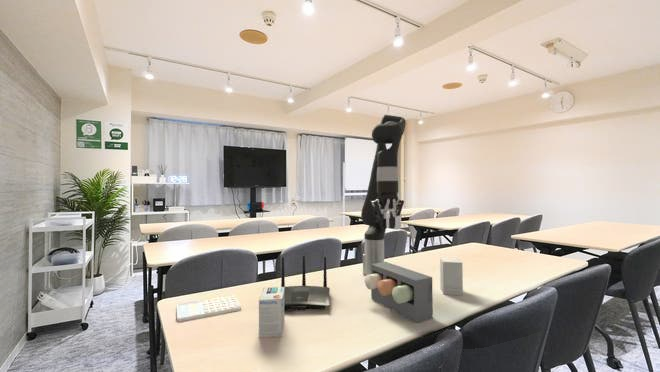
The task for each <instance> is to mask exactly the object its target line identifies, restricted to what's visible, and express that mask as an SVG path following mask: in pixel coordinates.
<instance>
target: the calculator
mask: <svg viewBox="0 0 660 372" xmlns="http://www.w3.org/2000/svg"><path fill="white" fill-rule="evenodd" d="M241 310H242V305H241V303H240V302H239V300H238V298H237V296H236V295H233V294H231V295H226V296H222V297H221V296H220V297H219V296H218V297H214V298H209V299H202V300H196V301H190V302H183V303H180V304H177V305H176V321H177V322H184V321H191V320H196V319H201V318H206V317H211V316H218V315H222V314H223V315H224V314H227V313H232V312H233V313H234V312H237V311H241Z"/></svg>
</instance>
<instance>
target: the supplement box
mask: <svg viewBox="0 0 660 372" xmlns="http://www.w3.org/2000/svg"><path fill="white" fill-rule="evenodd" d="M439 274H440V275H439V278H440V279H439V282H440V284H439V287H440V290H441V292H442V294H443V295H452V296H453V295H454V296H463V295H464V289H463V288H464V286H463V285H464V284H463V283H464V282H463V281H464V280H463V276H464V275H463V262H462V261H461V260H460V259H459V258H452V257H451V258H450V257H449V258H447V257H440V259H439Z"/></svg>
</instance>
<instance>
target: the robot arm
mask: <svg viewBox="0 0 660 372" xmlns="http://www.w3.org/2000/svg"><path fill="white" fill-rule="evenodd" d="M406 125H407V123H406V119H405V118H404V117H402V116H398V115H397V116H396V115H392V114H384V115H382V116H381V119H380V123H377V124H376V125H374V126H373V128H372V130H371V137H372V138H371V139H372V141H373V142H374V143H375V144H376V149H375V153H374V159H373V163H372V167H371V173H370V178H369V183H368V187H367V192H366V196H365V200H364V202H363V206H362V208H361V215H360V216H361V221H362V222H363V223H364V225H366V226H368V228H367V230H366V231H365V233H364V253H363V254H362V275H365V276H366V275H370V274H371V264H376V263H382V262H385V235H386V230H387V214H388V216H389V218H388V227H389V229H392V230H393V229H395V228H396V218H397V217H400V216H401V213H402V210H403V207H404V203H405V200H403V199H399V197H398V193H399V170H398V156H399V155H398V153H399V149H400V143H401V140H402V138H403V135H404V133H405V130H406ZM387 144H389V145H390V144H391V146H390V147H389V148H387Z"/></svg>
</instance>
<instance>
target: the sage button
mask: <svg viewBox="0 0 660 372" xmlns="http://www.w3.org/2000/svg"><path fill="white" fill-rule="evenodd" d="M392 296H393V299H394V300H395V302H396V303H398V304H400V303H404V302H408V301H412V300H414V289H413V287H412V286H411V285H409V284H407V285H402V286H397V287H394V288H393V290H392Z"/></svg>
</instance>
